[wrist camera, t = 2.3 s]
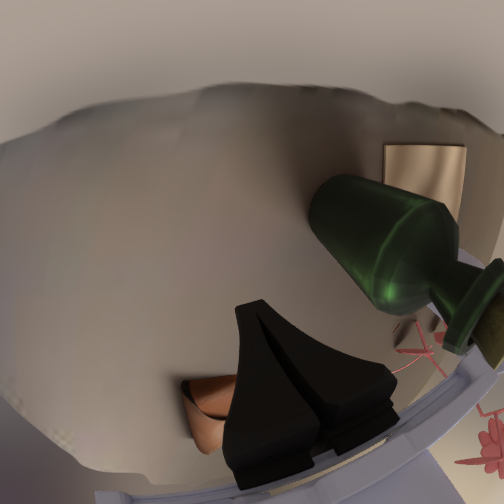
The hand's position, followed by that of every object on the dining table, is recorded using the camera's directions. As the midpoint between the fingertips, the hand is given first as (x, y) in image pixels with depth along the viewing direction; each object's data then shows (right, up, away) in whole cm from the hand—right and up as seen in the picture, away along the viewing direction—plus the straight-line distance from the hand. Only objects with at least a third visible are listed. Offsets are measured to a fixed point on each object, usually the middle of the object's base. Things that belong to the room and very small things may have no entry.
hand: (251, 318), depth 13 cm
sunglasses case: (-5, -18, +20) cm, 28 cm away
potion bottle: (+8, +7, +10) cm, 15 cm away
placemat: (+20, +10, +13) cm, 26 cm away
